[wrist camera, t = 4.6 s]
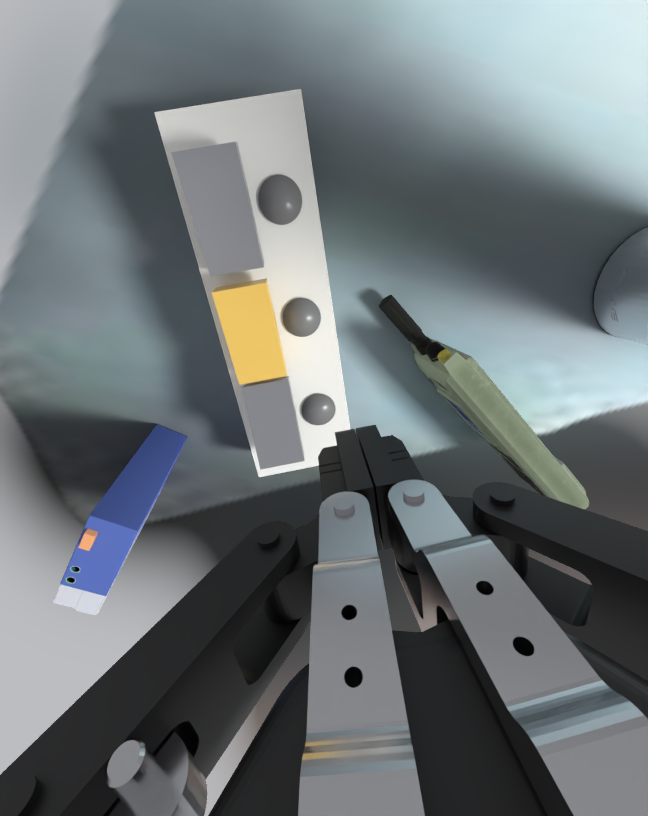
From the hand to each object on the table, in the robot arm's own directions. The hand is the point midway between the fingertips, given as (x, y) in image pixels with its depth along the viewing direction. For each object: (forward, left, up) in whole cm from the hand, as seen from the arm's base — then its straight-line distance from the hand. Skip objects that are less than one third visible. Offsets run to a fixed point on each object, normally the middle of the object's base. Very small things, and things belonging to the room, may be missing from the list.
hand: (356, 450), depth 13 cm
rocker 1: (+4, -3, -14) cm, 14 cm away
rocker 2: (+4, +4, -14) cm, 15 cm away
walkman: (+16, +8, -18) cm, 25 cm away
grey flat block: (+4, -10, -14) cm, 17 cm away
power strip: (+3, -3, -18) cm, 18 cm away
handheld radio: (-13, +8, -18) cm, 23 cm away
